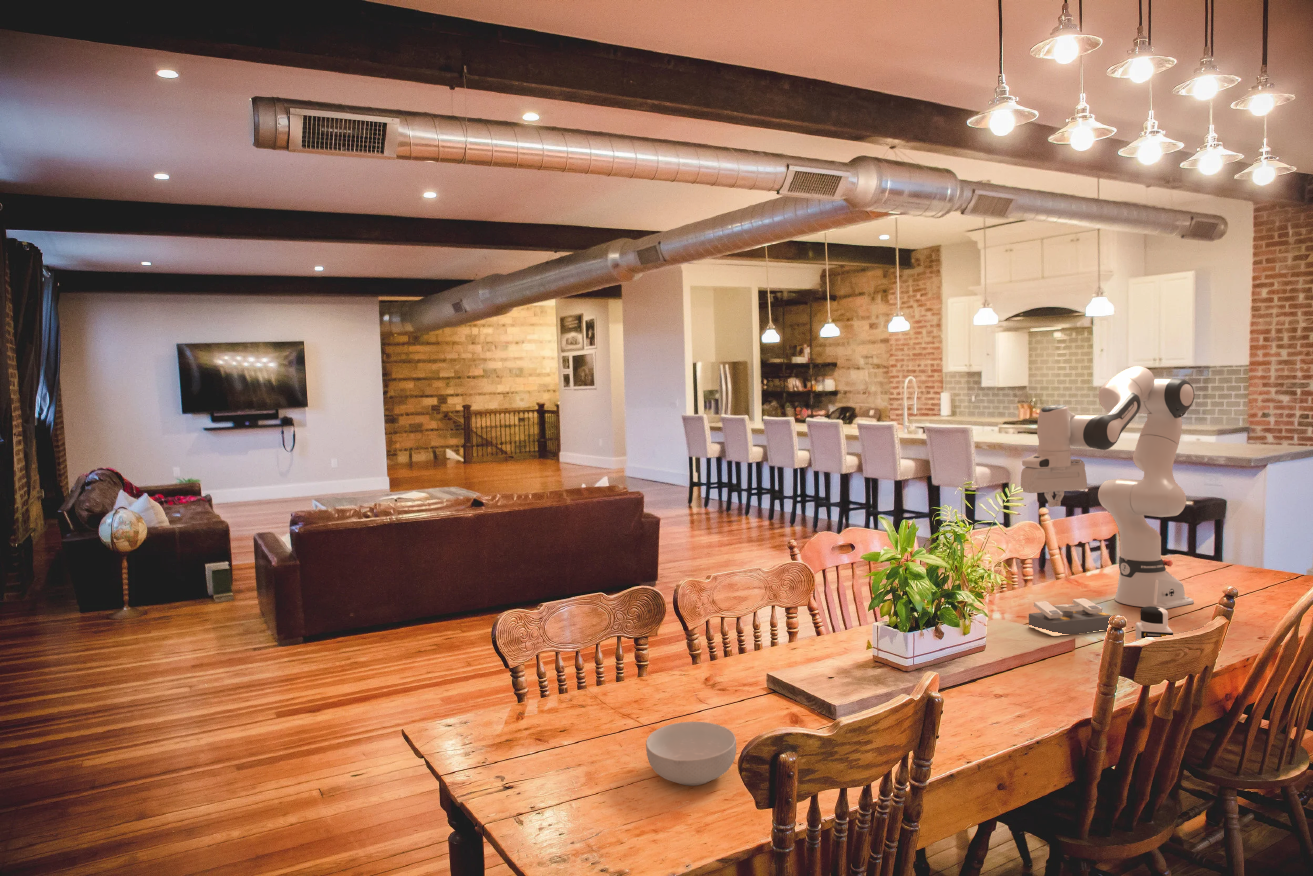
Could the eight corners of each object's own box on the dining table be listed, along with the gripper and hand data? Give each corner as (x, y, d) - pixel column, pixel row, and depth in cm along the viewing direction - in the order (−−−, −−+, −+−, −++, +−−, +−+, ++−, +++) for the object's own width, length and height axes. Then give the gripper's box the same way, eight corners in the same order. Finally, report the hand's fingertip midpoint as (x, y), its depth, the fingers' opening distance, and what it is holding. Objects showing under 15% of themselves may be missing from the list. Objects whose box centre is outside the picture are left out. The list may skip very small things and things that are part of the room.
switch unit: (1087, 620, 240) (1087, 603, 240) (1113, 630, 230) (1113, 612, 230) (1028, 627, 236) (1028, 609, 235) (1052, 637, 226) (1052, 618, 226)
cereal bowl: (680, 748, 163) (679, 714, 162) (753, 769, 153) (752, 732, 153) (628, 783, 149) (627, 745, 149) (705, 807, 139) (704, 767, 139)
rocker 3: (1084, 601, 238) (1084, 597, 237) (1101, 612, 231) (1102, 607, 231) (1072, 603, 237) (1072, 598, 237) (1089, 613, 230) (1090, 609, 230)
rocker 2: (1065, 608, 236) (1064, 603, 236) (1082, 610, 229) (1082, 605, 230) (1053, 609, 235) (1052, 605, 235) (1070, 611, 229) (1070, 606, 229)
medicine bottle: (1141, 657, 207) (1141, 610, 207) (1135, 648, 214) (1135, 603, 213) (1173, 659, 205) (1173, 612, 204) (1166, 650, 212) (1166, 605, 211)
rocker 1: (1045, 604, 235) (1046, 600, 234) (1062, 617, 228) (1063, 613, 228) (1033, 606, 234) (1034, 601, 234) (1049, 618, 227) (1050, 614, 227)
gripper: (1076, 457, 245) (1076, 503, 246) (1017, 460, 240) (1017, 507, 241) (1092, 458, 239) (1092, 505, 239) (1031, 462, 234) (1031, 510, 235)
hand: (1054, 506), depth 240 cm, fingers closed
